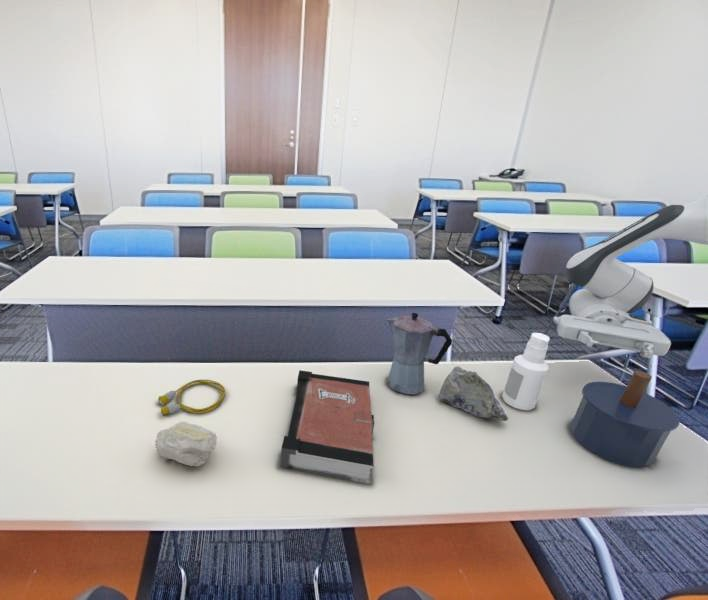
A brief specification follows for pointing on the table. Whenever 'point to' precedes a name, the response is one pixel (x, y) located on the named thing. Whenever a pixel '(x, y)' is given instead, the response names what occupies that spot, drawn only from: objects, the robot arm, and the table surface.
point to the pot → (615, 438)
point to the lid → (631, 404)
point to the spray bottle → (527, 374)
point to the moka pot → (412, 352)
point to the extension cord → (177, 406)
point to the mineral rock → (471, 394)
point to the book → (330, 428)
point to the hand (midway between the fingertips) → (620, 350)
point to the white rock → (186, 443)
